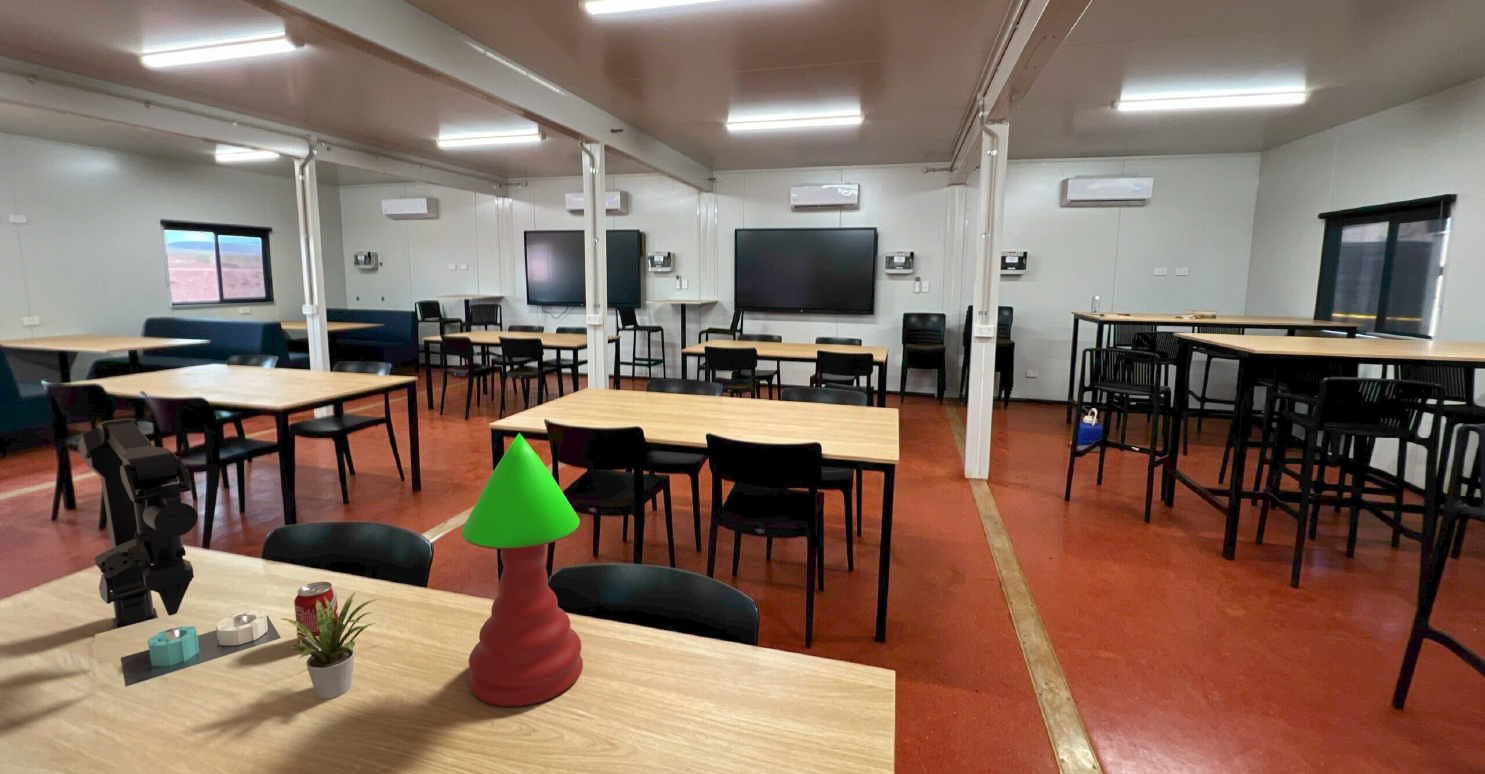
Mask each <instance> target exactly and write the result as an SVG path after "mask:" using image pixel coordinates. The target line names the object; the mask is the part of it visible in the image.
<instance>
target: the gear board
mask: <svg viewBox="0 0 1485 774" xmlns="http://www.w3.org/2000/svg"><path fill="white" fill-rule="evenodd" d="M266 618H267V628H268V630H267V632H266V633H264V634H263V635H262V636H260V637H259V638H258V639H256V640H253V641H250V642H246V643H243V644H240V645H235V646H234V645H219V641H218V640H217V632H216V629H215V630H212V631H208V632H205V633H202V634H201V633H200V634H197V638H198V646H199V652H198V653H197V654H195V655H194V656H192V657H191V658H189V659H188V660H186V661H182V662H179V663H176V664H173V665H170V666H153V665H152V664H151V660H150V652H149V649H146V650H142V651H139V652H135V653H132V654H129V655H125V656H122V657H120V658H121V666H122V671H123V677H124V682H125V687H129V686H132V685H135V684H138V683H142V682H146V681H149V680H151V679H155V678H157V677H161V676H164V675H168V674H171V673H175V672H177V671H180V670H184V669H187V668H191V667H193V666H194V667H195V666H197V665H200V664H202V663H207V662H209V661H212V660H216V659H219V658H223V657H225V656H228V655H231V654H235V653H237V652H241V651H245V650H248V649H251V648H254V647H257V646H260V645H263V644H268V643H270V642H274V641H277V640H280V639H282V637H281V636H280V634H279V632H278V630H277V629H276V627H275V626H274V624H273V622H272V621H271V619H270V617H269V616H268V615H266ZM246 624H248V616H247V614H241V615H238V616H236V617H235V627H239V626H242V625H246ZM166 630H167V631H166V632H165V636H166V642H169V641H172V640H176V639H179V638H181V636H180V629H179V628H176V627H173V628H169V629H166Z"/></svg>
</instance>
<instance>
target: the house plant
mask: <svg viewBox="0 0 1485 774" xmlns="http://www.w3.org/2000/svg"><path fill="white" fill-rule="evenodd" d="M355 594H356V592H353V593H352V594H350V596H349V597H348V598H347V599H346V600H345V602H344V604H343V606H342V609H341V611H340V612H339V614H338V622H337V620H336V616H335V617H334V612H333V610H334V609H335V608H336V607H335V608H334V609H333V608H332V606H331V604H330V603H329V601H328V600H327V599H326V598H325V596H324V598H325V602H326V605H327V609H328V614H327V611H326V610H325V608H324V607H323V606H322V604H321V602H320V601H318V600H317V601H316V612H317V621H318V629H319V638H320V641H321V642H320V641H319V640H318V639H317V638H316V637H315V636H314V635H313V634H312V632H311V631H310V630H309V629H308V628H306V627H305V626H304V625H302V624H301V623H299V622H297V621H296V620H292V619H291V618H281V620H282V621H286V622H288V623H290V624H291V625H294V626H295V627H296V628H297V627H298V628H299V629H300V630H302V631H303V632H304V633H303V632H300V631H297V630H295V632H296V636H297V638H298V637H299V638H300V640H301V642H302V643H303V644H304V645H298V644H295V645H293V646H290V647H289V649H291V650H296V651H298V652H299V651H300V652H301V654H300V656H299V658H298V660H300V659H301V658H303V657H306V656H309V655H310V656H309V657H308V658H307V660H306V662H305V663H306V664H305V665H306V668H307V670H308V674H309V677H310V680H311V683H312V687H313V690H314V693H315V697H317V698H318V699H322V700H329V699H335V698H338V697H340V696H342V695H344V694H346V693H347V692H348V691H349V690H351V687H352V683H353V682H352V681H353V673H354V664H355V654H356V653H355V652H356V651H355V649H354V646H355V645H356V642H355V641H354V640H355V639H356V637H357V636H358V635H360V633H361V632H363V631H364V630H366V629H367V628H368V627H369V626H372V625H374V624H376V622H371V623H368V624H366V625H360V626H355V627H354V625H356V623H359V620H361V619H362V618H363V617H364V616H366V615H369V614H371V613H373V611H370V612H365V613H362V614H361V615H359V616H358V617H357V618H356V619H353V617H354V616H355V615H356V614H357V613H358V612H359V611H360V610H361V609H362V608H364V607H365V606H366V605H368V604H370V603H372V602H375V601H377V600H378V598H376V599H372V600H371V599H370V600H368V601H366V602H363V603H362V604H359V605H358V606H357V607H356V608H355V609H354V610H353V611H352V612H351V613H350V615H349V616H348V617H347V614H348V612H349V609H350V608H351V606H352V603H353V601H354V600H353V598H354V597H355ZM346 617H347V620H346V621H345V619H346ZM344 622H345V623H344ZM349 623H351V625H350V627H349V629H348V631H347V632H346V633H345V634H344V635H343V633H344V631H345V630H346V628H347V626H348V624H349ZM356 631H357V632H356ZM297 632H299V633H302V634H304V635H305V636H307V637H309V638H310V639H311V640H312V641H313V642H314V643H315V644H316V645H317V646H318V647H319V648H320V649H318V648H316V647H315V646H314V645H313V644H311V643H310V642H309V641H308V640H306V639H305V638H304V637H303V636H301V635H299V634H297ZM354 632H356V633H355V634H354V635H353V636H352V638H351V639H350V640H349V641H347V642H346V643H344V642H345V641H346V639H348V637H350V635H352V634H353V633H354ZM342 635H343V636H342ZM341 636H342V637H341ZM305 645H306V646H305Z"/></svg>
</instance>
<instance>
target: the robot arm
mask: <svg viewBox="0 0 1485 774" xmlns="http://www.w3.org/2000/svg"><path fill="white" fill-rule="evenodd" d="M78 448H79V449H78V450H79V453H80V456H81V459H82V460H85V463H86V466H87V467H88V468H89V469H90V470H91V471H92V472H94V473H95V474H96V475H97V476H98V477H99V478H100V483H101V487H102V488H101V491H102V495H103V500H104V507H105V515H106V519H107V525H108V531H109V537H110V544H111V548H110V549H107V550H106V551H104V552H102V553H99V554H98V555H96V556H95V558H94V561H95V565H96V567H98V569H99V571H100V573H102V574H101V575H100V580H99V583H98V590H99V594H100V598H101V599H102V600H103V602H104V603H106V604H111V603H113V611H114V618H112V624H113V629H114V630H117V629H121V628H125V627H128V626H132V625H136V624H139V623H144V622H147V621H152V620H155V619H158V618H159V617H158V614H157V610H156V608H155V607H154V606H153V605H154V604H153V603H154V602H153V594H152V592H155V593H157V594H159V597H160V599H161V603H162V604H163V606H164V607H165V611H166V612H167V615H168V616H175V615H177V613H178V612H179V609H180V606H181V604H182V602H183V599H184V597H185V595H186V592H187V591H188V588H189V585H190V583H191V582H192V581H193V579H194V578H195V577H194V576H195V575H194V566H193V565H192V563H191V562H190V561H189V560H188V559H185V558H183V557H185V556H187V555H186V548H185V547H184V542H183V541H184V540H183V535H185V534H187V533H188V532H190V531H191V530H192V529H193V528H194V527H195V526H196V524H197V523H198V520H199V519H198V512H197V510H196V509H195V507H193V506H192V505H190V504H189V503H187V502H186V501H184V500H182V498H181V497H182V496H181V494H182V493H186V492H191V491H192V487H191V485H192V482H193V480H192V478H191V476H190V473H189V470H188V469H187V466H186V464H185V462H184V461H182V458H181V457H180V456H176V454H175V453H174V451H171V450H170V449H169V448H167V447H159V446H154V444H153V443H152V442H151V441H150V440H149V438H147V436H146V435H145V434H144V432H142V430H141V427H140V426H139V424H138V421H137V419H136V418H130V417H127V418H119V419H112V420H111V419H110V420H104V421H103V422H99V423H98V425H97V427H95V428H93V429H91V430H88V431H86V432H85V433H83V434H82V435H81V437H80V440H79V442H78ZM178 481H179V483H178Z"/></svg>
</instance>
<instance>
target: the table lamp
mask: <svg viewBox="0 0 1485 774" xmlns="http://www.w3.org/2000/svg"><path fill="white" fill-rule="evenodd" d="M580 522H581V521H580V518H579V516H578V514H577V512H576V511H575V510H574V508H573V507H572V505H571V504H570V502H569V500H568V499H567V497H566V496H565V494H564V493H563V491H562V489H561V488H560V486H559V485H558V483H557V481H556V480H555V478H554V476H553V475H552V473H551V472H550V471H549V470H548V467H546V465H545V464H544V462H543V461H542V460H541V459H540V457H539V455H538V454H537V453H536V452H535V451H534V450H533V448H532V447H531V446H530V444H529V443H528V442H527V440H526V439H525V438H524V437H523V436H522V434H521V433H520V432H518V434H517V435H516V436H515V438H514V439H513V441H512V443H511V444H510V445H509V447H508V448H507V450H506V451H505V453H504V454H503V456H502V457H501V459H500V460H499V462H498V463H497V465H496V467H495V468H494V470H493V471H492V473H491V475H490V476H489V479H488V480H487V481H486V483H485V486H484V488H483V489H482V491H481V493H480V495H479V497H478V499H477V500H476V502H475V504H474V506H473V509H471V512H470V513H469V516H468V517H467V519H466V521H465V523H464V525H463V527H462V529H461V531H460V532H461V536H462V537H463V539H464V540H465V541H466V542H468V543H469V544H471V545H472V546H476V547H480V548H485V549H490V550H491V549H492V550H501V551H500V560H501V562H502V567H503V569H502V573H501V576H500V579H499V587H500V591H499V594H498V595H497V596H496V597H495V599H494V600H493V602H492V605H491V610H490V611H491V616H489V618H487V620H486V621H484V623H483V625H482V626H481V628H480V630H479V635H478V636H479V637H478V638H479V641H478V643H476V644H475V646H474V647H473V649H472V651H471V652H470V654H469V658H468V667H469V671H470V674H469V676H468V681H467V684H468V689H469V690H470V692H471V694H473V695H474V696H475V697H476V698H477V699H479V700H481V701H483V702H485V703H487V704H491V705H493V706H496V707H497V706H499V707H519V706H520V707H521V706H528V705H533V704H537V703H542V702H544V701H547V700H549V699H552V698H553V697H556V696H557V695H559V694H561V693H563V692H564V691H565V690H567V689H568V688H570V687H571V686H572V685H573V684H574V683H575V682H576V681H578V678H579V677H580V676H581V673H582V671H583V668H584V660H583V657H582V656H581V652H582V641H581V638H580V636H579V635H578V633H577V632H575V630H574V629H573V628H571V620H570V618H569V617H570V616H569V615H568V614H567V613H566V612H565V610H563V609H562V608H561V607H559V604H558V596H557V595H556V593H555V592H554V590H552V589H551V588H550V586H549V584H548V578H549V577H548V571H547V569H546V568H545V565H544V560H545V557H546V546H545V545H548V544H551V543H555V542H558V541H560V540H562V539H565V538H567V537H569V536H570V535H571V534H573V533H574V532H576V530H577V529H578V528H579V525H580Z"/></svg>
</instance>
